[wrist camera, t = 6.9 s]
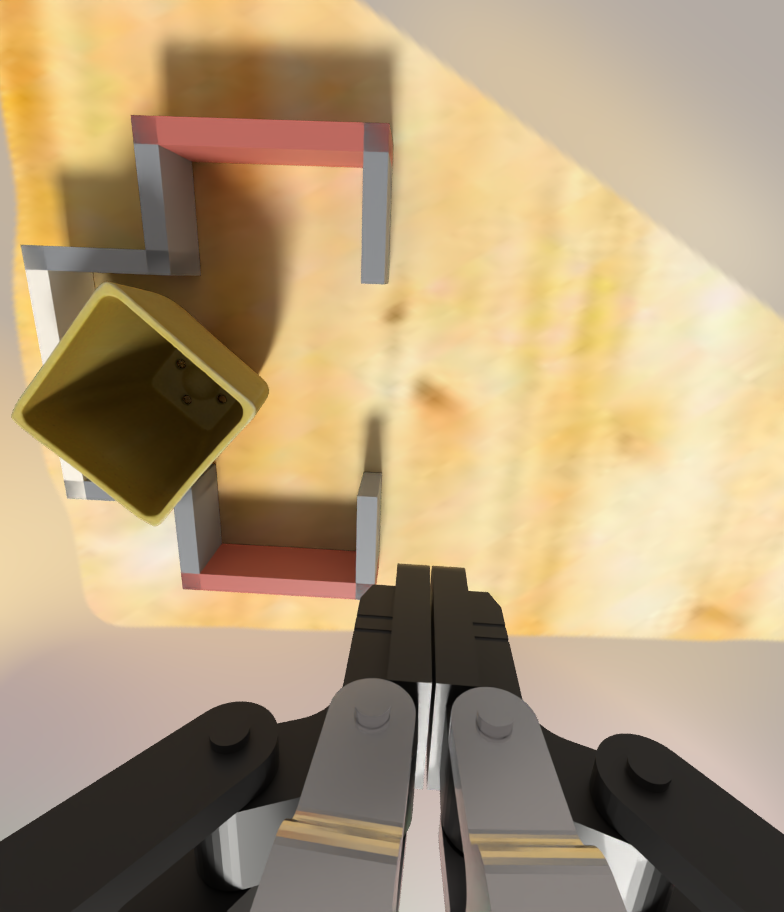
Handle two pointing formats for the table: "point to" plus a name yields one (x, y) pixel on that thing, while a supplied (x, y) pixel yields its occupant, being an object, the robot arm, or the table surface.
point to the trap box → (177, 253)
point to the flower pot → (139, 399)
